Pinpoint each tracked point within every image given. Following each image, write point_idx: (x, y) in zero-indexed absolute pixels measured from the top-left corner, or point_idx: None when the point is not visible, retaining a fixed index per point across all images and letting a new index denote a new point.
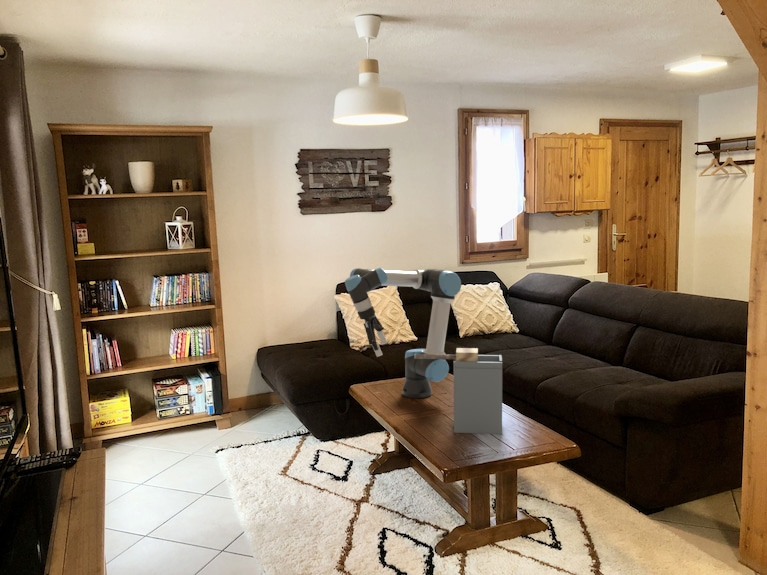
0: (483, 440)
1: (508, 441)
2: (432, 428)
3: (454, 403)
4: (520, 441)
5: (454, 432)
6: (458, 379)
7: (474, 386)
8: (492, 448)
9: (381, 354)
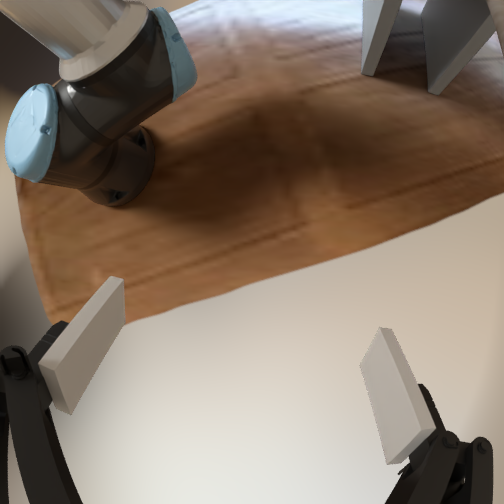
0: None
1: None
2: (413, 137)
3: (469, 59)
4: None
5: (438, 94)
6: None
7: None
8: (493, 58)
9: (391, 338)
